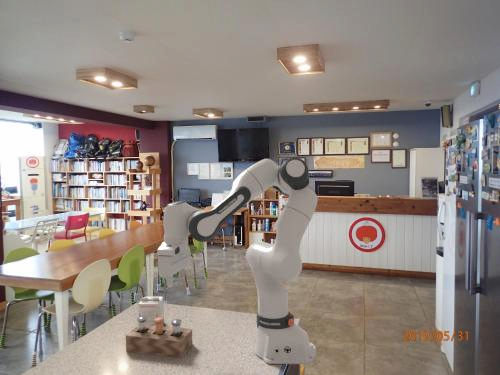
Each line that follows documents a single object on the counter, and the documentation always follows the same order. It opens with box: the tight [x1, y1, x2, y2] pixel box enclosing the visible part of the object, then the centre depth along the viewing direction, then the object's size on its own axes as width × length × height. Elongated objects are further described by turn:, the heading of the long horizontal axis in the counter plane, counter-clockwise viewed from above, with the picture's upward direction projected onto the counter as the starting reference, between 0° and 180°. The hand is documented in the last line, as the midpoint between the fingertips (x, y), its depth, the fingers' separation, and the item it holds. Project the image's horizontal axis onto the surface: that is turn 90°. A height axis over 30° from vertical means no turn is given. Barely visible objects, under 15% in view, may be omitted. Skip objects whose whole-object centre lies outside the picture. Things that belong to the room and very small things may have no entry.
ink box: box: [137, 296, 165, 325], centre depth 154 cm, size 9×8×13 cm
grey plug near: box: [170, 318, 182, 337], centre depth 134 cm, size 4×4×6 cm
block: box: [125, 324, 193, 359], centre depth 136 cm, size 22×10×6 cm, turn 76°
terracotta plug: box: [154, 317, 165, 335], centre depth 136 cm, size 4×4×6 cm
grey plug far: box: [136, 316, 147, 333], centre depth 138 cm, size 4×4×6 cm
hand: (176, 283), depth 134 cm, fingers open, 8 cm apart
